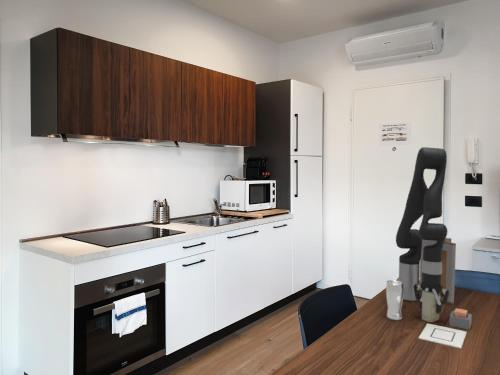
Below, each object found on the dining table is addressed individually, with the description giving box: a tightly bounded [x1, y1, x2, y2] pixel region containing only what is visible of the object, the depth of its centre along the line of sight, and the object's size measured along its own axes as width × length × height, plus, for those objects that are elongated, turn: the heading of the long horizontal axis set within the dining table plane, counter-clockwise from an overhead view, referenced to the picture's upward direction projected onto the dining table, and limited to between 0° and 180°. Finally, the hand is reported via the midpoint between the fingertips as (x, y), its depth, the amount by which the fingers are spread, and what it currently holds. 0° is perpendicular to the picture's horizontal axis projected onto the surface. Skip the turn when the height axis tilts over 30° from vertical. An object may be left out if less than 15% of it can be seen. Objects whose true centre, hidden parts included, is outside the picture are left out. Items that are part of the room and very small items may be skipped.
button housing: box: [448, 310, 473, 331], centre depth 160 cm, size 7×7×4 cm
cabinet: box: [419, 237, 457, 305], centre depth 195 cm, size 21×10×28 cm, turn 17°
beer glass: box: [385, 279, 404, 321], centre depth 168 cm, size 7×7×15 cm
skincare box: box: [421, 291, 440, 323], centre depth 165 cm, size 6×4×12 cm
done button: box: [453, 307, 468, 318], centre depth 160 cm, size 4×4×2 cm
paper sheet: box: [418, 322, 467, 350], centre depth 150 cm, size 14×16×1 cm
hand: (430, 311), depth 165 cm, fingers closed on skincare box, 5 cm apart
